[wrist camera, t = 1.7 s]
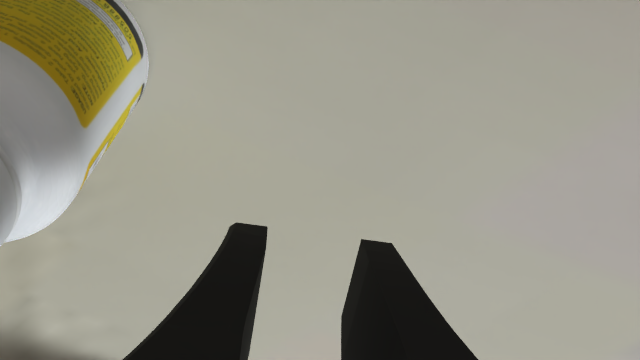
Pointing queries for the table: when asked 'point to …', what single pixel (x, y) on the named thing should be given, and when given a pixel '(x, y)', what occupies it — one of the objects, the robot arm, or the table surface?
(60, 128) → the supplement bottle
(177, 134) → the table surface
